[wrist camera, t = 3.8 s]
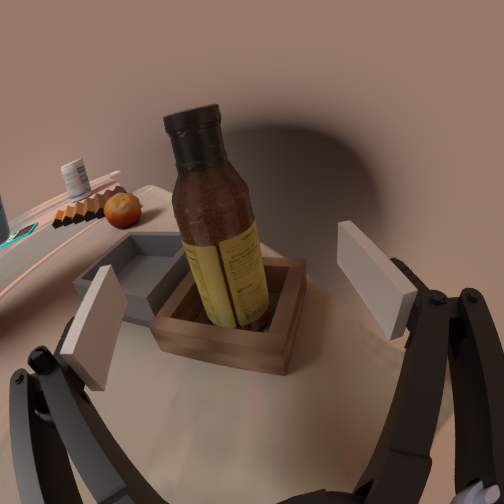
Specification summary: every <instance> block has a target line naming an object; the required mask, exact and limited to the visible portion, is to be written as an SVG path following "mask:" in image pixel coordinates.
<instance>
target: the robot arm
mask: <svg viewBox="0 0 504 504" xmlns="http://www.w3.org/2000/svg"><path fill="white" fill-rule="evenodd" d="M9 234H10V230H9V226H8V222H7V219H6V215H5V212H4V208H3V204H2V200H1V196H0V245H1V244H3V243H4V242H6V241H7V239H8V238H9ZM337 264H338V265H339V267H340V268H341V269H342V271H343V272H344V274H345V275H346V277H347V278H348V279H349V281H350V282H351V284H352V285H353V287H354V288H355V289H356V291H357V292H358V294H359V295H360V297H361V298H362V300H363V301H364V303H365V304H366V306H367V307H368V309H369V310H370V312H371V313H372V315H373V316H374V318H375V319H376V321H377V322H378V324H379V325H380V327H381V328H382V330H383V332H384V333H385V335H386V336H387V338H388V339H389V341H390V340H393V339H396V338H399V337H401V336H403V334H404V331H405V328H406V327H407V329H408V330H409V331H410V334H409V337H408V340H407V342H406V345H405V347H404V348H406V351H405V356H404V360H403V364H402V368H401V372H400V376H399V380H398V383H397V387H396V391H395V394H394V397H393V401H392V404H391V407H390V410H389V413H388V416H387V419H386V422H385V425H384V427H383V430H382V433H381V435H380V438H379V441H378V443H377V446H376V448H375V451H374V453H373V455H372V458H371V460H370V462H369V464H368V466H367V468H366V470H365V472H364V473H363V475H362V476H361V478H360V480H359V482H358V483H357V485H356V487H355V489H354V491H353V493H352V494H350V493H346V492H337V491H328V492H326V490H325V489H322V490H318V491H314V492H310V493H306V494H302V495H298V496H293V497H291V498H289V499H287V500H284V501H282V502H279V503H277V504H418V503H419V500H420V498H421V496H422V493H423V490H424V488H425V485H426V482H427V479H428V476H429V473H430V470H431V466H432V459H431V457H430V449H431V445H432V442H433V438H434V434H435V430H436V425H437V421H438V416H439V411H440V406H441V400H442V394H443V388H444V381H445V373H446V364H447V355H448V361H449V368H450V375H451V382H452V391H453V402H454V415H455V492H456V496H455V497H454V498H453V500H452V501H451V503H450V504H504V352H503V349H502V346H501V343H500V339H499V336H498V333H497V331H496V328H495V325H494V322H493V320H492V317H491V314H490V312H489V309H488V307H487V304H486V302H485V300H484V297H483V296H482V294H481V293H480V292H479V291H478V290H476V289H473V288H465V289H463V290H462V292H461V294H460V297H453V298H448V297H447V296H446V295H445V294H444V293H442V292H440V291H437V290H429V289H428V288H427V287H426V286H425V284H424V283H423V282H422V281H421V280H420V279H419V278H418V277H417V276H416V275H415V274H414V273H413V272H412V271H411V270H410V269H409V268H408V267H407V266H406V265H405V264H404V263H403V262H402V261H400V260H398V259H396V258H391V259H389V258H388V257H387V256H386V255H385V254H384V253H383V252H382V251H381V250H380V249H379V248H378V247H377V246H376V245H375V244H374V243H373V242H372V241H371V240H370V239H369V238H368V237H367V236H366V235H365V234H364V233H363V232H362V231H361V230H360V229H358V228H357V227H356V226H355V225H354V224H353V223H352V222H351V221H345V222H339V223H338V248H337ZM127 303H128V300H127V298H126V296H125V294H124V292H123V290H122V288H121V286H120V283H119V281H118V279H117V277H116V275H115V272H114V270H113V268H112V265H107V266H102V267H100V268H99V270H98V272H97V274H96V276H95V278H94V280H93V281H92V283H91V285H90V287H89V289H88V291H87V293H86V295H85V297H84V299H83V301H82V303H81V306H80V308H79V310H78V312H77V314H76V316H75V317H72V318H71V320H70V321H69V322H68V323H67V325H66V327H65V329H64V331H63V332H64V333H63V334H62V336H61V339H60V340H59V343H58V345H57V348H56V350H55V352H54V355H52V354H51V352H50V351H49V350H48V348H47V347H46V346H39V347H37V348H35V349H34V350H33V351H32V352H31V353H30V355H29V357H28V365H29V366H30V367H31V368H32V369H33V370H34V371H35V373H33V374H29V373H28V372H27V371H26V370H25V369H23V368H21V369H18V370H17V371H15V372H14V373H13V375H12V377H11V380H10V394H9V416H10V436H11V447H12V456H13V463H14V470H15V476H16V481H17V486H18V491H19V495H20V499H21V503H22V504H83V502H82V499H81V496H80V493H79V491H78V488H77V485H76V482H75V479H74V475H73V472H72V469H71V465H70V461H69V458H68V454H67V451H68V453H69V455H70V457H71V459H72V461H73V463H74V465H75V467H76V469H77V470H78V472H79V474H80V476H81V478H82V479H83V481H84V483H85V484H86V486H87V488H88V489H89V491H90V492H91V494H92V495H93V497H94V499H95V500H96V502H97V504H169V503H168V502H166V501H165V500H164V499H163V498H162V497H161V496H160V495H159V494H158V493H157V492H156V491H155V490H154V489H153V488H152V487H151V485H150V484H149V483H148V482H147V481H146V480H145V478H144V477H143V476H142V475H141V474H140V472H139V471H138V470H137V469H136V467H135V466H134V465H133V464H132V462H131V461H130V460H129V458H128V457H127V456H126V454H125V453H124V452H123V450H122V449H121V447H120V446H119V445H118V443H117V442H116V440H115V439H114V437H113V436H112V434H111V433H110V431H109V430H108V428H107V427H106V425H105V424H104V422H103V420H102V419H101V417H100V416H99V414H98V412H97V411H96V409H95V407H94V405H93V404H92V402H91V400H90V398H89V397H88V395H87V393H86V392H85V391H84V386H85V384H86V386H87V387H88V388H89V389H90V390H91V391H104V390H105V385H106V381H107V376H108V372H109V368H110V364H111V360H112V356H113V352H114V348H115V344H116V340H117V337H118V333H119V329H120V326H121V323H122V319H123V316H124V312H125V309H126V306H127ZM35 410H36V413H35ZM66 449H67V450H66Z"/></svg>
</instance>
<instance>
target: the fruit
mask: <svg viewBox="0 0 504 504" xmlns="http://www.w3.org/2000/svg"><path fill="white" fill-rule="evenodd" d="M104 214H105V216H106V218H107V220H108V222H109V223H110V224H111V225H112V226H114V227H116V228H119V229H125V228H127V227H129V226H130V225H132V224H133V223H135V222H136V221H137V220H139V218H140V215H141V208H140V203H139V199H138V198H137V197H135V196H134V195H133V194H131V193H117V194H115V195H113V196H112V197H111V198H109V200H108V201H107V202H106V204H105V207H104Z"/></svg>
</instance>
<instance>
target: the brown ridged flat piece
mask: <svg viewBox="0 0 504 504" xmlns="http://www.w3.org/2000/svg"><path fill="white" fill-rule="evenodd" d="M117 193H127V192H126V191H125V190H124V188H123V187H120V186H116V187H115V189H114V190H113V191H111V190H106V191H105V193H104V194H103V195H101V194H96V195H95V197H94V198H93V199H91V198H86V200H85V201H84V203H81V202H77V203H76V205H75V206H74V207H70V206H67V208H66V210H65V211H60V210H58V212H57V214H56V215H55V218H54V220H53V223H52V226H53V227H54V228H55V229H56V228H58V227H60V226H62V225H64V226H68V225H70V224H72V223H73V222H74V223H75V224H77V223H79V222H82V221H83V218H84V219H85V221H86V222H88V221H90V220H92V219H94V218H95V215H96V216H97V218H98V219H101V218H103V217H106V216H105V214H104V207H105V204H106V202H107V201H108V200H109V198H111V197H112V196H113V195H115V194H117Z"/></svg>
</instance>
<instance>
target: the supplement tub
mask: <svg viewBox="0 0 504 504" xmlns="http://www.w3.org/2000/svg"><path fill="white" fill-rule="evenodd" d="M61 171H62V175H63V179H64V182H65V185H66V189H67V192H68V195H69V198H70V201H71V202H77V201H80V200H82V199H84V198H86V197H88V196H90V195H91V193H92V191H91V187H90V184H89V181H88V177H87V174H86V170H85V166H84V163H83V160H82V158H81V159H79V160H76V161H73V162H71V163H69V164H66V165H64V166H62V167H61Z"/></svg>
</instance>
